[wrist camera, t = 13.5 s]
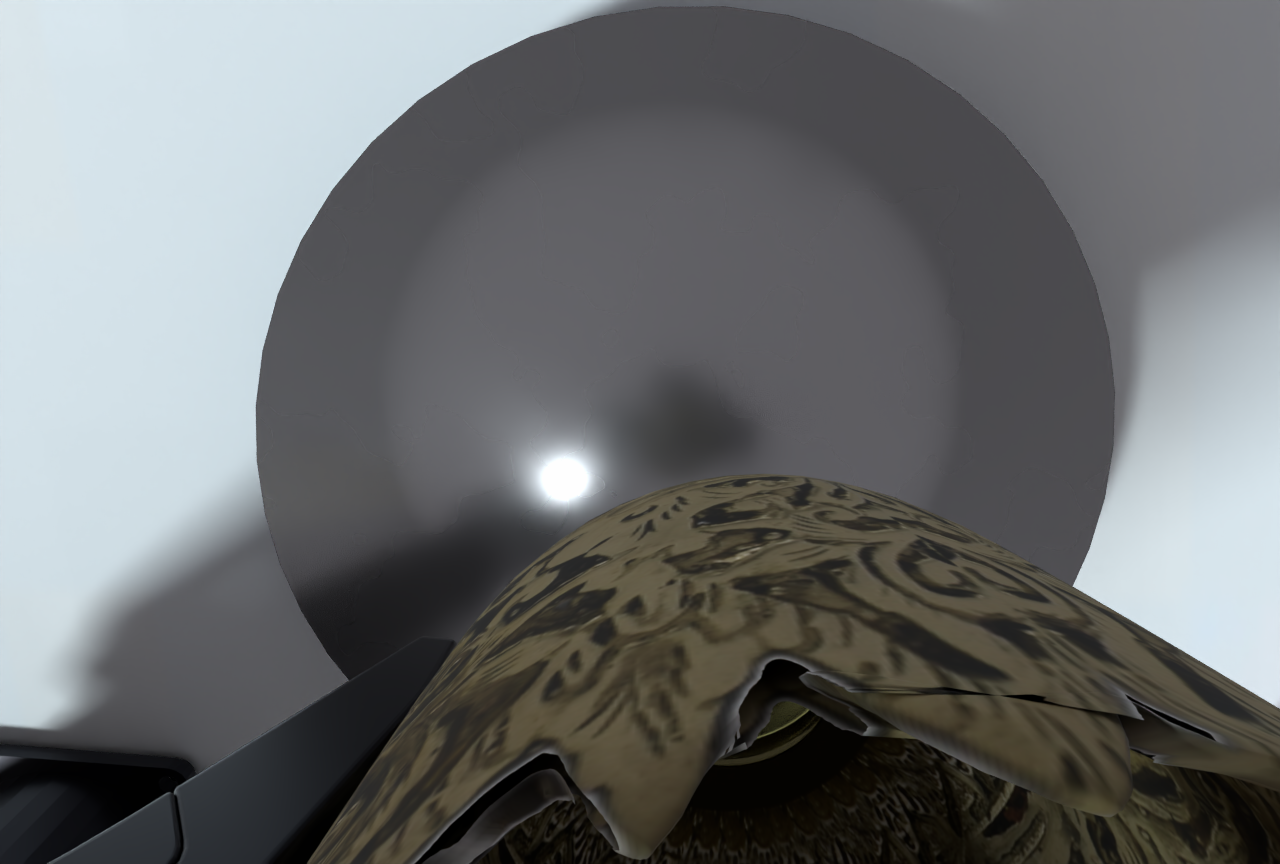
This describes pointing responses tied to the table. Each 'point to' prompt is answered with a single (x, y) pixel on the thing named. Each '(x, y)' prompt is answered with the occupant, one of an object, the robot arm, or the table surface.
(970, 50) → the table surface
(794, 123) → the turntable
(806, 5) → the table surface
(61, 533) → the table surface
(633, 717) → the cup
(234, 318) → the table surface
